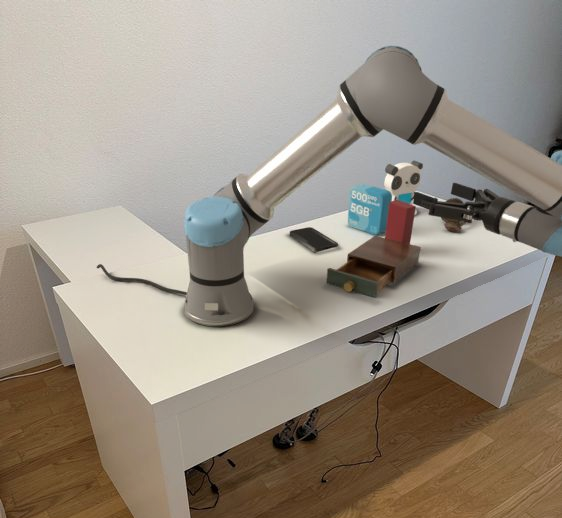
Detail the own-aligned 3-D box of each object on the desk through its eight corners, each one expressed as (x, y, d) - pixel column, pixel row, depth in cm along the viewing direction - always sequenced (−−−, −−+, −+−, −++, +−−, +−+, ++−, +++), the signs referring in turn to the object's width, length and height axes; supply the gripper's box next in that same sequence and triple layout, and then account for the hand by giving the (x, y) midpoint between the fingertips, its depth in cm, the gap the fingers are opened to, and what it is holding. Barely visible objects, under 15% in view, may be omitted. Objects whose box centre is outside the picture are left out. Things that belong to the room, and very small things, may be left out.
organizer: (392, 287, 131) (395, 267, 128) (345, 273, 137) (347, 254, 134) (417, 266, 141) (420, 246, 138) (372, 254, 147) (374, 235, 144)
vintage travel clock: (479, 204, 164) (449, 192, 167) (467, 212, 155) (436, 199, 158) (468, 226, 169) (439, 213, 172) (456, 235, 159) (426, 221, 162)
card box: (383, 248, 150) (389, 201, 143) (391, 245, 152) (397, 199, 144) (400, 256, 146) (407, 208, 138) (408, 253, 148) (415, 206, 140)
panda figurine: (393, 219, 169) (399, 170, 160) (373, 208, 177) (378, 161, 168) (424, 214, 173) (432, 165, 164) (403, 203, 181) (409, 157, 172)
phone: (310, 226, 160) (339, 243, 149) (310, 230, 160) (339, 247, 150) (287, 231, 157) (315, 249, 146) (287, 235, 157) (315, 253, 147)
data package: (346, 225, 164) (350, 185, 157) (356, 222, 167) (359, 182, 160) (378, 236, 157) (383, 195, 150) (387, 232, 160) (393, 191, 153)
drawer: (371, 304, 123) (374, 285, 120) (323, 289, 129) (324, 271, 126) (402, 277, 134) (405, 260, 132) (356, 265, 140) (358, 248, 138)
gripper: (467, 247, 114) (395, 217, 128) (537, 224, 126) (464, 199, 140) (475, 212, 110) (400, 185, 124) (546, 191, 122) (470, 169, 136)
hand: (434, 192), depth 132 cm, fingers open, 13 cm apart
